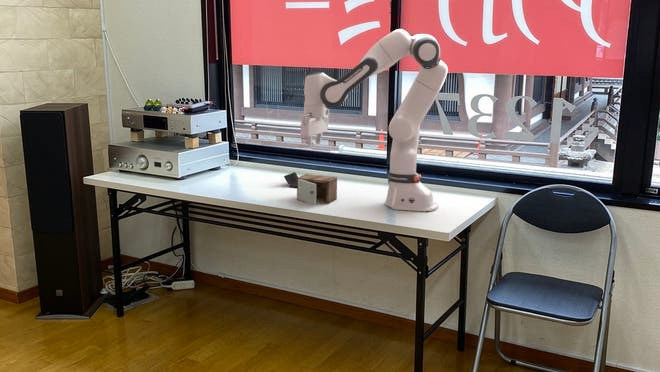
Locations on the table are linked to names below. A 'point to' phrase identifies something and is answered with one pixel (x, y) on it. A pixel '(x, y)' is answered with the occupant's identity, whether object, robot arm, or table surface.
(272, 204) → the table surface
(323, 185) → the walnut cabinet
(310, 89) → the robot arm
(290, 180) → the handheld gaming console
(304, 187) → the cabinet door
